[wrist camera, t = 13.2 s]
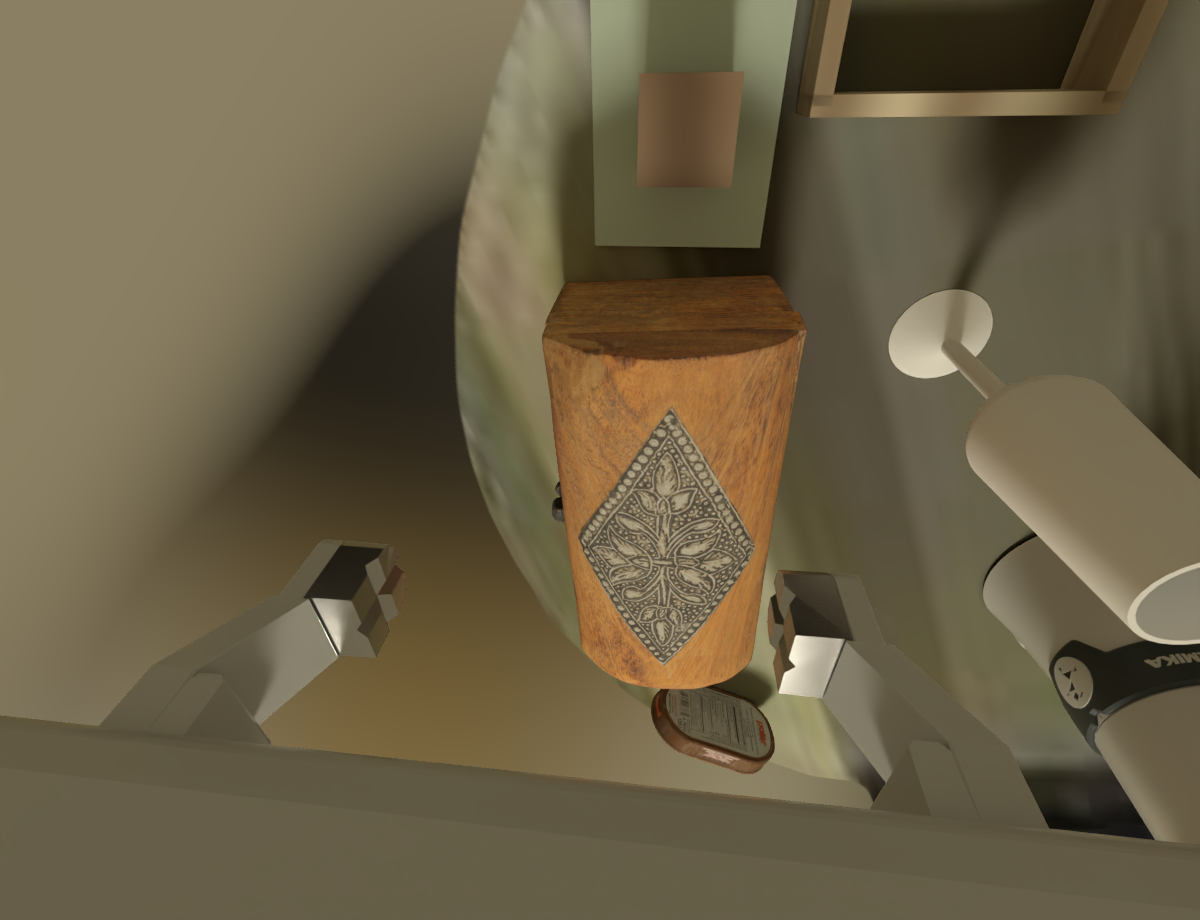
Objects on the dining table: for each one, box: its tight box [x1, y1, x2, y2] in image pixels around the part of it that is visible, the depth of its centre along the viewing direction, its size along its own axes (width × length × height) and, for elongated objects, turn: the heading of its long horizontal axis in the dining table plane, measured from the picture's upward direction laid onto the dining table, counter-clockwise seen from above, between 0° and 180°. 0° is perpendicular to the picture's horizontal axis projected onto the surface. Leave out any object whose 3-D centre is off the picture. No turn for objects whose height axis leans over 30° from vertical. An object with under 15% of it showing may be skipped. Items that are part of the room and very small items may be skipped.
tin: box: [651, 686, 775, 774], centre depth 63 cm, size 15×3×8 cm, turn 69°
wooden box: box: [542, 275, 807, 689], centre depth 41 cm, size 30×16×14 cm, turn 3°
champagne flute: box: [889, 289, 1200, 645], centre depth 29 cm, size 7×7×24 cm
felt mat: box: [590, 0, 797, 248], centre depth 33 cm, size 11×14×1 cm
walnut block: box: [637, 71, 744, 188], centre depth 30 cm, size 5×5×6 cm
